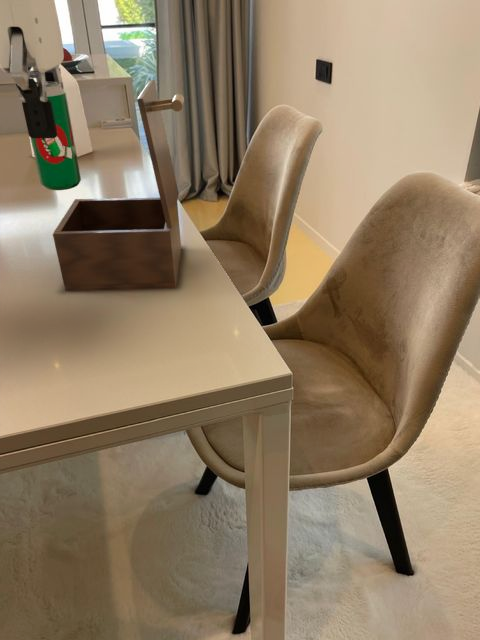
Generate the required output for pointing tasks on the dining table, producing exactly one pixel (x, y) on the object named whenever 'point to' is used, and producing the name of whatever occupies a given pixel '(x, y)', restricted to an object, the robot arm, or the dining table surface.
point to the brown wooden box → (117, 245)
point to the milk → (74, 113)
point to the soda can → (57, 146)
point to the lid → (160, 145)
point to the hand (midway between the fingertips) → (50, 130)
